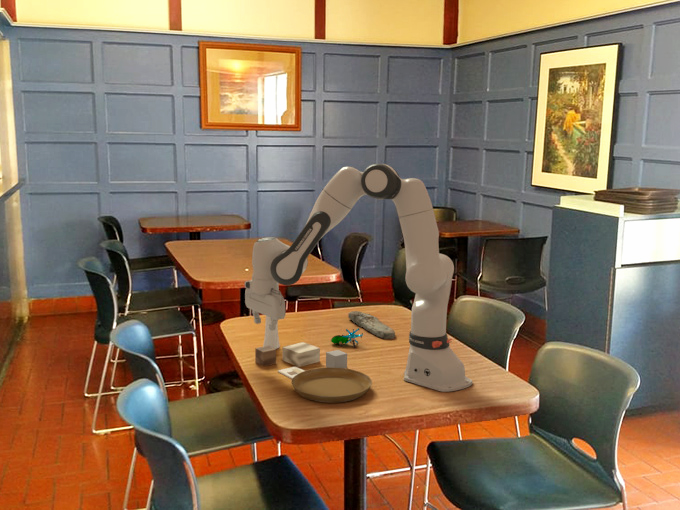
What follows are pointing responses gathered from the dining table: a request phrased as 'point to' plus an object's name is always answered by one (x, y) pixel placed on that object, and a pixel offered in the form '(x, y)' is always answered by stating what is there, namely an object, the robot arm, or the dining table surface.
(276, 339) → the cosmetic bottle
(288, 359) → the birch base block
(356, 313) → the elongated rock
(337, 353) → the grey plastic cube
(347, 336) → the stick construction toy
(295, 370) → the card
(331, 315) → the dining table surface
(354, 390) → the plant saucer
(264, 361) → the walnut cube
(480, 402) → the dining table surface
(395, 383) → the dining table surface
